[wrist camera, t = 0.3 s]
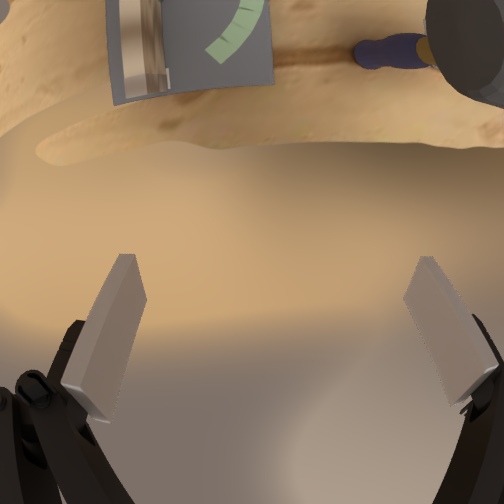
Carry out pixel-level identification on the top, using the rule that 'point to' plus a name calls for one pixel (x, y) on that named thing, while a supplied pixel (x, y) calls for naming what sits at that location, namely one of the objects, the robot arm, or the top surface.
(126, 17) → the wooden block
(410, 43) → the rubber mallet
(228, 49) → the board
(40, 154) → the top surface
